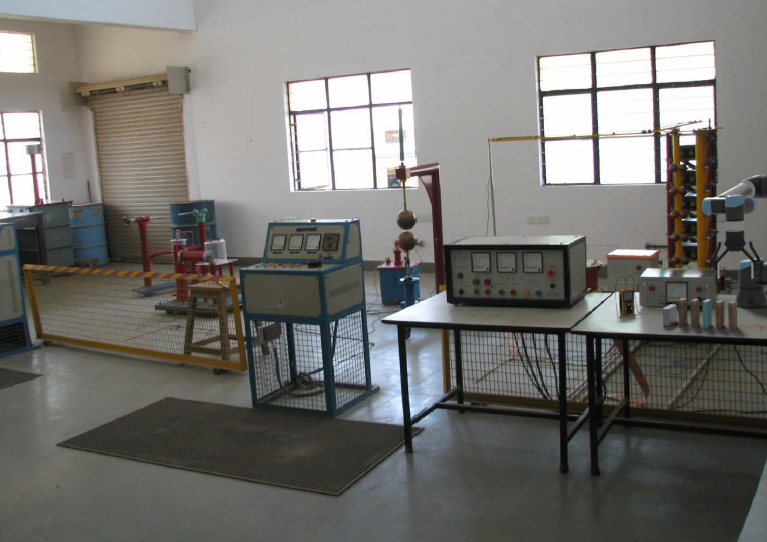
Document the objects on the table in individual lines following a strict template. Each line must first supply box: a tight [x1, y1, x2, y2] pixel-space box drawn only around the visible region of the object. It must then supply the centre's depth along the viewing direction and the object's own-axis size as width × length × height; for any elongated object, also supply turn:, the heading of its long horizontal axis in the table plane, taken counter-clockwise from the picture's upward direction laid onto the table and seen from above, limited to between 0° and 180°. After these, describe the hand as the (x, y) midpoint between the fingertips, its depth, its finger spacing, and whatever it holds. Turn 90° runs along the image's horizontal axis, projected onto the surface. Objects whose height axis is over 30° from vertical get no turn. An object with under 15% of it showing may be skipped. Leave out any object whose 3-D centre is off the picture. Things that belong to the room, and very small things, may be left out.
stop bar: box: [662, 304, 678, 327], centre depth 370 cm, size 3×10×8 cm, turn 141°
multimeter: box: [614, 274, 641, 319], centre depth 389 cm, size 15×10×20 cm
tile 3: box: [702, 298, 713, 329], centre depth 358 cm, size 2×6×12 cm, turn 141°
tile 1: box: [727, 300, 738, 331], centre depth 351 cm, size 2×6×12 cm, turn 141°
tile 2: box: [714, 299, 725, 330], centre depth 355 cm, size 2×6×12 cm, turn 140°
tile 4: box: [690, 298, 701, 328], centre depth 362 cm, size 2×6×12 cm, turn 141°
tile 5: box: [677, 298, 689, 327], centre depth 366 cm, size 2×6×12 cm, turn 140°
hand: (735, 278), depth 348 cm, fingers open, 13 cm apart
